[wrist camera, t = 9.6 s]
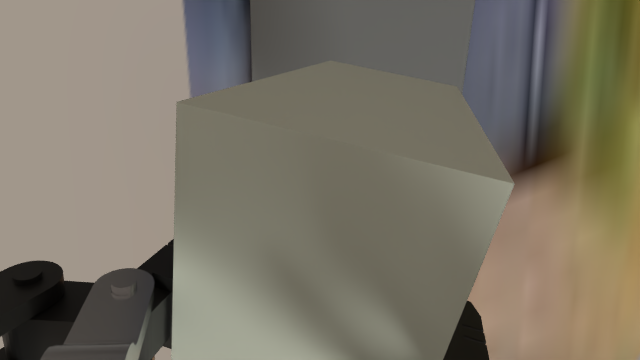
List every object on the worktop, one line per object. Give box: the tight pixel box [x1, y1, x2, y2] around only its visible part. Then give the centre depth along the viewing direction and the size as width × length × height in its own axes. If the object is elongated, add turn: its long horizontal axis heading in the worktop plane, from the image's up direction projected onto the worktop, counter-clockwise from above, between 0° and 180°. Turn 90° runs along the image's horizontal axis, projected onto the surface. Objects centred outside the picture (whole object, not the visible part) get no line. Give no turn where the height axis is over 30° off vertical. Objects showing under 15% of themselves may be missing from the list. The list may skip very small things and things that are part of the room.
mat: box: [250, 0, 475, 94], centre depth 29 cm, size 22×16×1 cm
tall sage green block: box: [171, 61, 514, 360], centre depth 15 cm, size 12×6×12 cm
